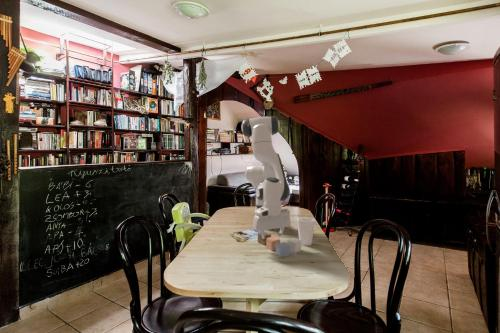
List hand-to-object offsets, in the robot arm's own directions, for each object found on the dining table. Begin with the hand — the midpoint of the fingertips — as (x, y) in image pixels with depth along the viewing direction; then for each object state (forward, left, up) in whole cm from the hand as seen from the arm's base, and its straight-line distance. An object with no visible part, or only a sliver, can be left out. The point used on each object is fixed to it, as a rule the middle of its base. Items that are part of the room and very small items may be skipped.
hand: (272, 237), depth 147 cm
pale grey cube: (-9, +7, -6) cm, 13 cm away
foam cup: (-20, +2, -6) cm, 21 cm away
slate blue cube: (-1, +9, -6) cm, 11 cm away
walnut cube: (-1, -9, -6) cm, 11 cm away
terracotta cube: (-1, 0, -6) cm, 6 cm away
